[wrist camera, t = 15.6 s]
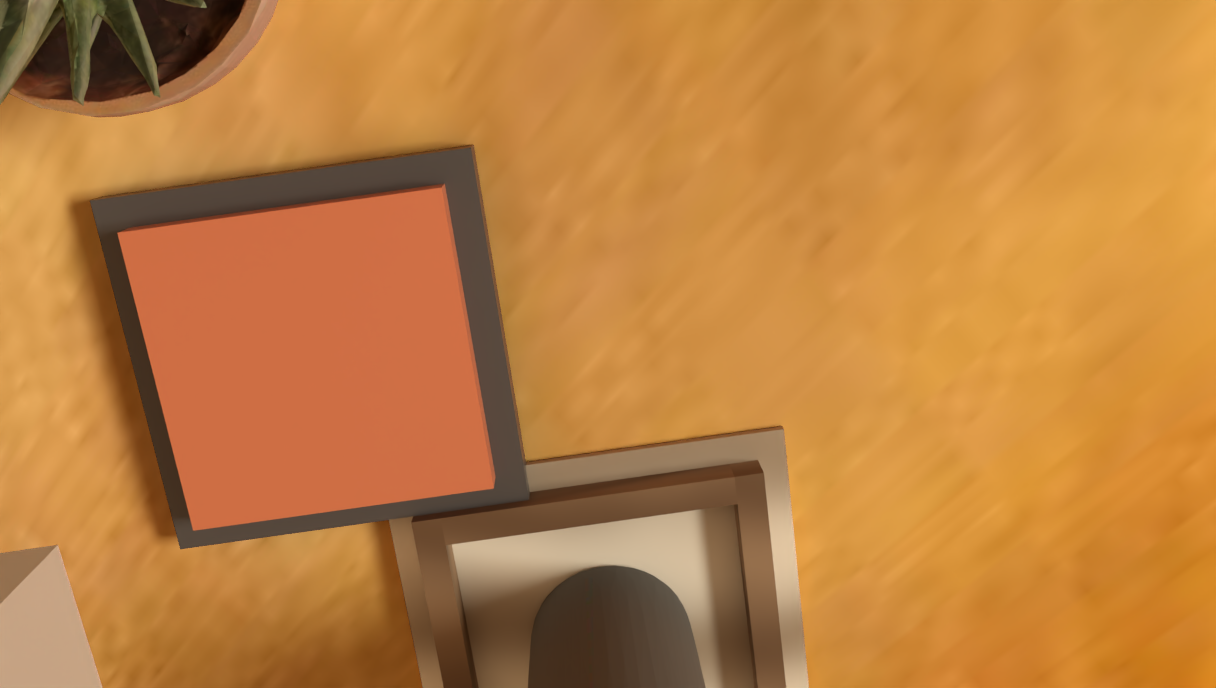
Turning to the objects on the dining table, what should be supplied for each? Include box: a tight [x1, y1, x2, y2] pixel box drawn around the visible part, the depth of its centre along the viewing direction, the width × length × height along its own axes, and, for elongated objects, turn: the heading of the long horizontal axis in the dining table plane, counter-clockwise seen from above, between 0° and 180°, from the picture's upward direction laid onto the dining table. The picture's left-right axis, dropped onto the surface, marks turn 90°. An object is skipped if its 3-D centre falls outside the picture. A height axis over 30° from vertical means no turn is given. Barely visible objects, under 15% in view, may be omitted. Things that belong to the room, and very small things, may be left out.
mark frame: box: [389, 426, 809, 688], centre depth 39 cm, size 14×14×2 cm
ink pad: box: [90, 145, 530, 549], centre depth 36 cm, size 12×12×2 cm
